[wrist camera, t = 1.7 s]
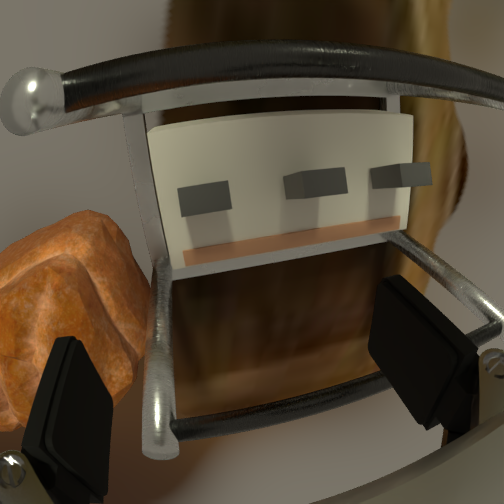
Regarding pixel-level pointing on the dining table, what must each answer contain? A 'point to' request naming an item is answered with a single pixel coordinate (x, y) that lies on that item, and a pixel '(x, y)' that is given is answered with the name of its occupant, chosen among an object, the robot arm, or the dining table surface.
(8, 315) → the bread
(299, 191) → the dark grey rectangular box
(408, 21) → the dining table surface
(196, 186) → the grey rectangular block
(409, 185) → the grey matte cuboid
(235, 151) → the switch box
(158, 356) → the frame
